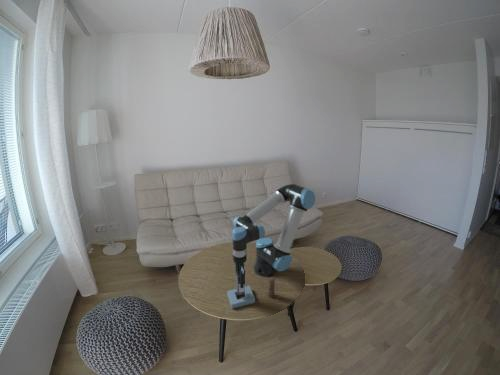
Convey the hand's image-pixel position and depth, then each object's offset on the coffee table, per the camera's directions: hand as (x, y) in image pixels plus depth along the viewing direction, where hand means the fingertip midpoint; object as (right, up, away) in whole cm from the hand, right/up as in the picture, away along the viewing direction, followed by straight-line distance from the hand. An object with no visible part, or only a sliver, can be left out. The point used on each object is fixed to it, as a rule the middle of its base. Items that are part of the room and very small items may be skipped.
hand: (240, 288), depth 139 cm
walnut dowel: (+18, -6, +4) cm, 20 cm away
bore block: (0, -7, +3) cm, 8 cm away
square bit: (0, -2, +1) cm, 2 cm away
